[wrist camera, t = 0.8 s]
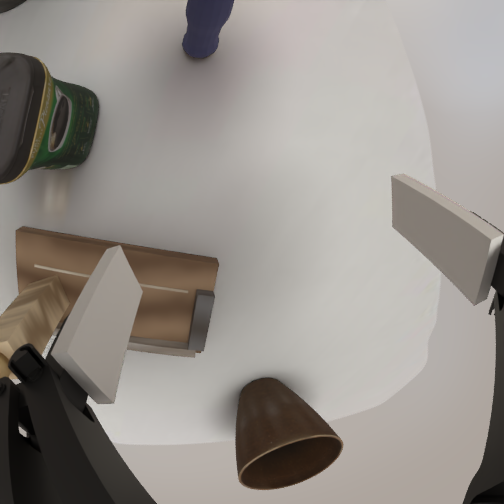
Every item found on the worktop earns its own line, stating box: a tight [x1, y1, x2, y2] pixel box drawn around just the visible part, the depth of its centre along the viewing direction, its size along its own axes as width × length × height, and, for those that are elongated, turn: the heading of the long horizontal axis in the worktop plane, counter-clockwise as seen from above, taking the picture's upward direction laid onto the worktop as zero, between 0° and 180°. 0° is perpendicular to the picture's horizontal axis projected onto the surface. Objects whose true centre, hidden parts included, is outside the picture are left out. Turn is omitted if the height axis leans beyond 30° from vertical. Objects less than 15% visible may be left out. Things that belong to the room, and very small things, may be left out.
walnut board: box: [16, 226, 219, 358], centre depth 32 cm, size 13×26×4 cm, turn 77°
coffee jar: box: [0, 53, 99, 184], centre depth 17 cm, size 10×8×19 cm
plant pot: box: [236, 378, 343, 490], centre depth 38 cm, size 15×15×16 cm
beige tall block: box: [0, 275, 70, 379], centre depth 22 cm, size 4×5×15 cm
